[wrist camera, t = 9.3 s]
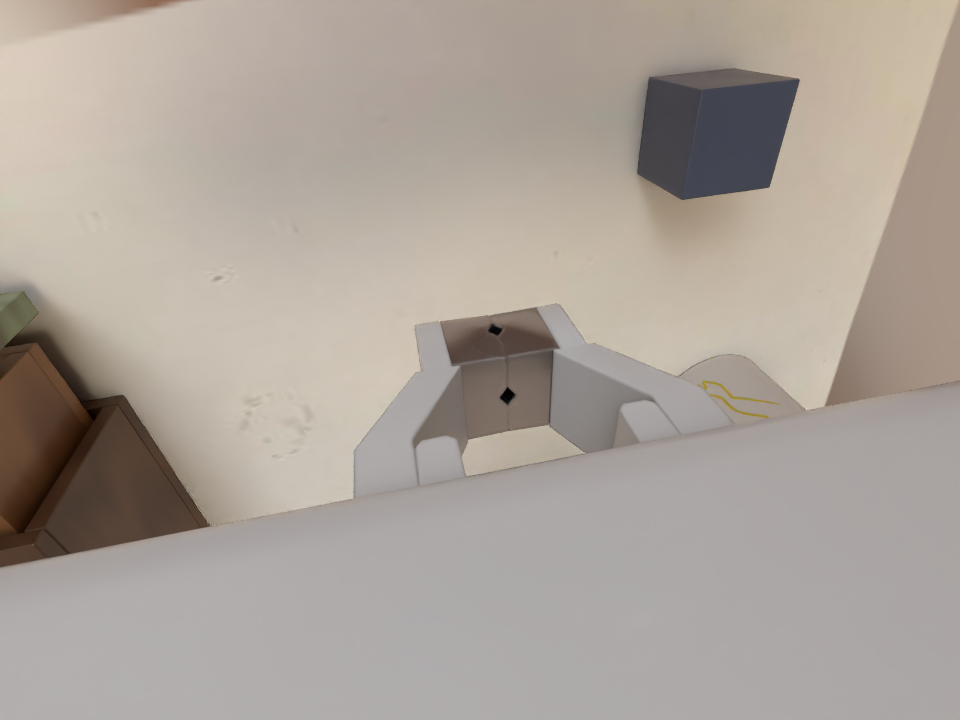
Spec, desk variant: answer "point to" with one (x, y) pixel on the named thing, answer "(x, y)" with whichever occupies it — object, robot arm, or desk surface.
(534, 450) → the desk surface
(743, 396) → the white solid cylinder
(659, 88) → the block
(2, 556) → the cabinet
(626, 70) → the desk surface
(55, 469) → the drawer
